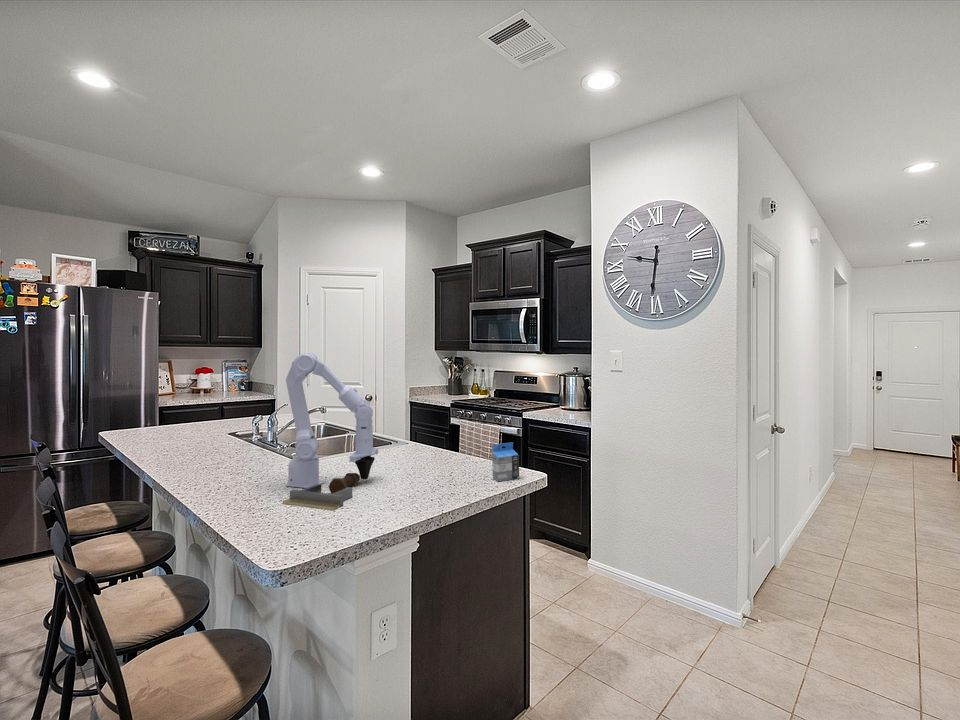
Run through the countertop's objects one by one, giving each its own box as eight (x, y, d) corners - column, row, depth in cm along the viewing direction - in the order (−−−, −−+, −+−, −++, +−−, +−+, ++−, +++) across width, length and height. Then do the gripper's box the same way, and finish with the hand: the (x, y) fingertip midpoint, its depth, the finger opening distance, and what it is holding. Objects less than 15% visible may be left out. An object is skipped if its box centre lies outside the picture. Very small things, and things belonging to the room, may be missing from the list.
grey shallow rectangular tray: (282, 503, 148) (282, 493, 148) (310, 492, 159) (310, 483, 159) (333, 510, 141) (333, 499, 141) (359, 498, 153) (359, 488, 153)
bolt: (358, 488, 172) (338, 499, 157) (346, 480, 172) (325, 490, 157) (366, 473, 171) (347, 483, 156) (354, 465, 172) (334, 475, 157)
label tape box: (498, 482, 171) (498, 446, 171) (492, 479, 175) (491, 444, 175) (519, 478, 176) (519, 443, 176) (513, 476, 179) (512, 442, 179)
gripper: (362, 443, 163) (362, 485, 163) (385, 436, 177) (385, 474, 177) (343, 442, 166) (344, 483, 166) (368, 435, 179) (368, 473, 179)
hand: (364, 478), depth 172 cm, fingers closed
